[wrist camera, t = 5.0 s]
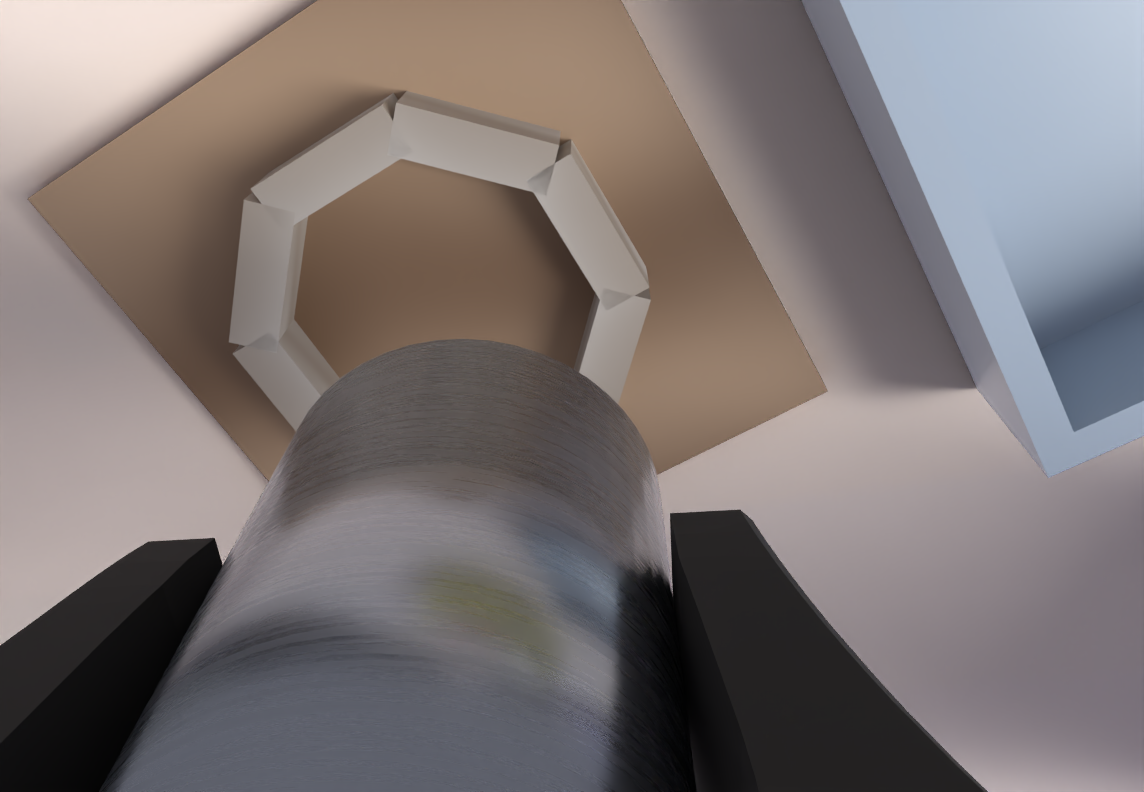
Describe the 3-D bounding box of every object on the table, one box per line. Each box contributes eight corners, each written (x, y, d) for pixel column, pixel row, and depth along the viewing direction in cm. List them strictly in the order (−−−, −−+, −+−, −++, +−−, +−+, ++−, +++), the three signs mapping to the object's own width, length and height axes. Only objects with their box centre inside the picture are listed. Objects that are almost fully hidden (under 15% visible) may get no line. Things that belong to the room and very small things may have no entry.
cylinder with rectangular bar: (692, 366, 10) (885, 1226, 3) (629, 673, 11) (678, 1608, 5) (282, 314, 9) (-314, 1128, 3) (283, 636, 11) (-97, 1560, 5)
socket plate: (822, 381, 18) (840, 417, 17) (382, 598, 21) (369, 643, 19) (541, -151, 14) (537, -156, 13) (39, 192, 17) (-5, 216, 15)
